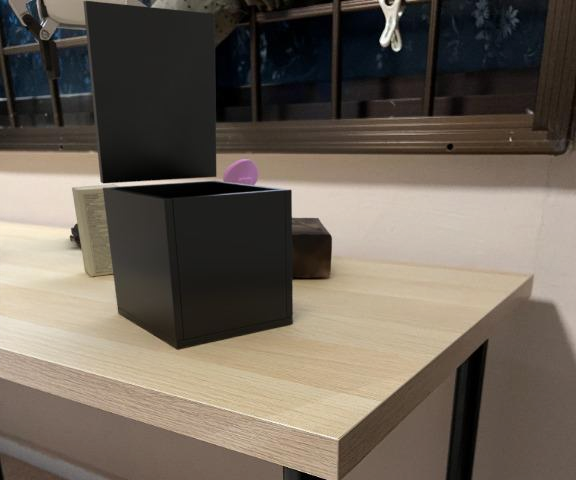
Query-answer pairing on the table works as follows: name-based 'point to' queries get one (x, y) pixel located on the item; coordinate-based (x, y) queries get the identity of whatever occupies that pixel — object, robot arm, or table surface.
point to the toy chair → (241, 172)
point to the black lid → (152, 91)
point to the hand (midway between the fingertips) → (93, 79)
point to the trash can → (201, 258)
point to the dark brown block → (310, 248)
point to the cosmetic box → (93, 229)
